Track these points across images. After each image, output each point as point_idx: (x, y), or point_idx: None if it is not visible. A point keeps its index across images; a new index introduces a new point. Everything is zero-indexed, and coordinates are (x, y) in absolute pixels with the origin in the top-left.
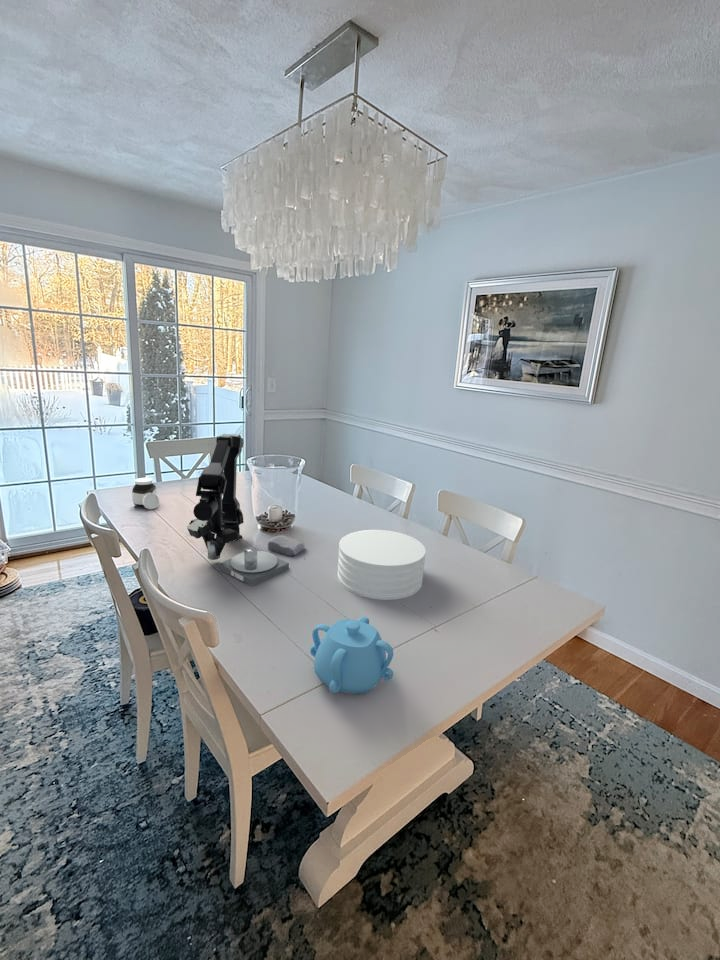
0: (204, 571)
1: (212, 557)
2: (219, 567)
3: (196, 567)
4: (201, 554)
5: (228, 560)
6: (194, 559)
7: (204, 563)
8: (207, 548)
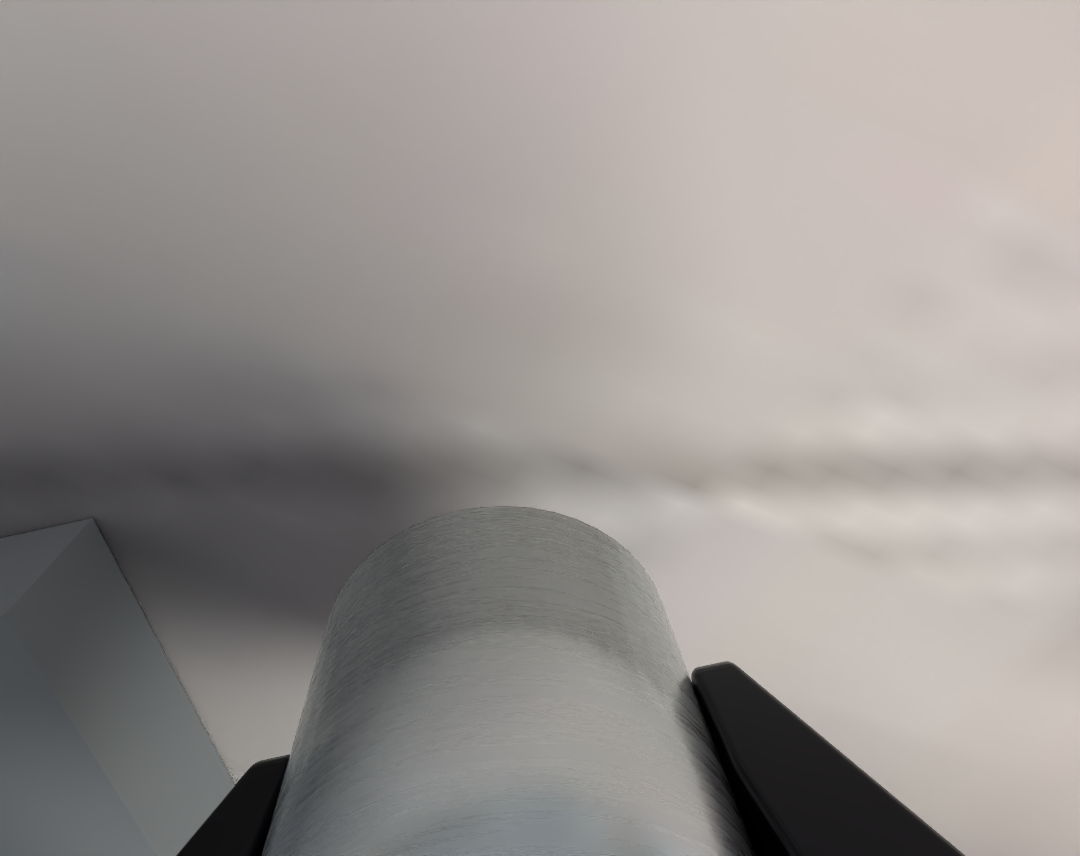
0: (112, 173)
1: (346, 620)
2: (28, 557)
3: (480, 83)
4: (1059, 486)
5: (112, 844)
6: (961, 247)
7: (587, 365)
8: (781, 745)
